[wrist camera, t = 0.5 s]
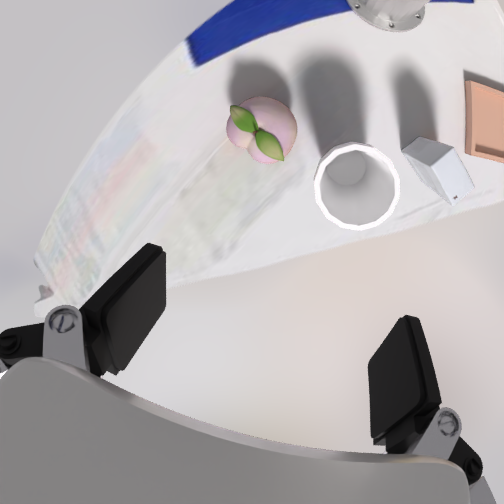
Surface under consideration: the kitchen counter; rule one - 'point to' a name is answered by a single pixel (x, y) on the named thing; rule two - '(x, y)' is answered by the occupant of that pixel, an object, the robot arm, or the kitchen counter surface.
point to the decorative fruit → (262, 128)
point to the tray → (484, 122)
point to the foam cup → (356, 186)
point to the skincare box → (439, 168)
